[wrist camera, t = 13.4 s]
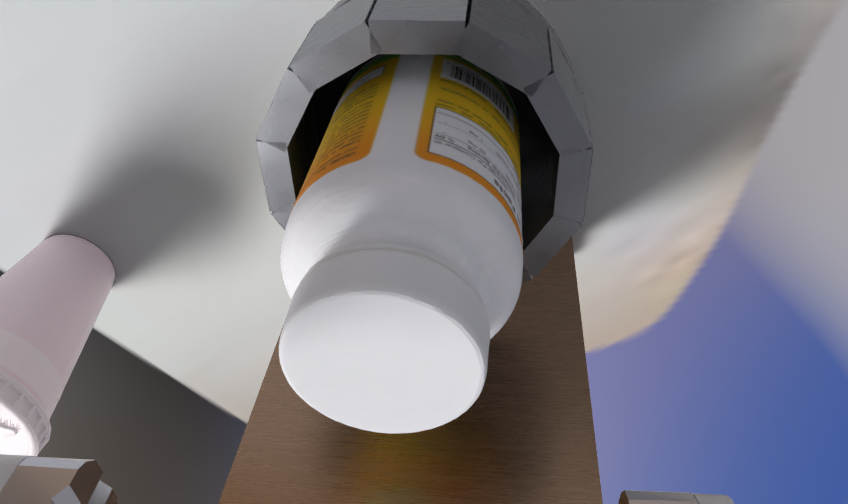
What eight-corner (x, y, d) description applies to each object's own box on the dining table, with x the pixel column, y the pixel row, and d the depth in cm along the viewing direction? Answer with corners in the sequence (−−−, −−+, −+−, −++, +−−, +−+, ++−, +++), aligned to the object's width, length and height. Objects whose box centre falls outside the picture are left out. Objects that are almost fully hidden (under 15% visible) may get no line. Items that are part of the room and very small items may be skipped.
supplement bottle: (350, 202, 23) (269, 452, 15) (326, 40, 19) (207, 256, 12) (518, 202, 22) (522, 463, 14) (522, 35, 19) (530, 260, 11)
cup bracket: (295, -77, 23) (45, 178, 11) (601, -79, 22) (717, 198, 10) (337, 250, 32) (226, 606, 19) (560, 259, 31) (595, 639, 18)
